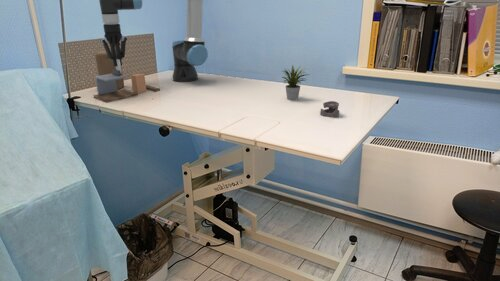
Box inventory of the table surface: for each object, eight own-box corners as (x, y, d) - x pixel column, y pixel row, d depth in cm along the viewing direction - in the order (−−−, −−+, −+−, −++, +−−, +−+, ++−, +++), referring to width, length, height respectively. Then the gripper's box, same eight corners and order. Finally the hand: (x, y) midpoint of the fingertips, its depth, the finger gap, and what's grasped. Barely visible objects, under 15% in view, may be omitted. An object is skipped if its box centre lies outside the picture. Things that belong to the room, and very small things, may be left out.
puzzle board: (145, 86, 203) (145, 84, 202) (159, 90, 194) (159, 88, 193) (93, 97, 183) (93, 95, 182) (106, 102, 174) (106, 100, 173)
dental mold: (343, 114, 150) (344, 103, 148) (336, 119, 145) (336, 107, 143) (326, 111, 155) (327, 100, 153) (318, 115, 150) (319, 103, 148)
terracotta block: (141, 89, 196) (139, 73, 193) (146, 91, 193) (144, 74, 190) (133, 91, 193) (130, 74, 189) (138, 93, 190) (135, 76, 186)
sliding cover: (116, 90, 190) (112, 68, 185) (128, 94, 182) (124, 71, 177) (98, 94, 183) (93, 71, 178) (109, 98, 175) (105, 74, 171)
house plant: (294, 105, 163) (295, 69, 157) (271, 100, 172) (271, 65, 166) (312, 99, 173) (314, 64, 167) (289, 94, 182) (290, 61, 176)
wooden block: (118, 90, 196) (112, 53, 188) (100, 90, 196) (93, 53, 188) (125, 86, 205) (119, 50, 197) (107, 86, 205) (101, 50, 198)
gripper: (120, 22, 180) (127, 69, 189) (94, 24, 171) (103, 73, 180) (127, 22, 175) (134, 71, 184) (101, 24, 166) (110, 75, 175)
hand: (119, 72), depth 182 cm, fingers closed
